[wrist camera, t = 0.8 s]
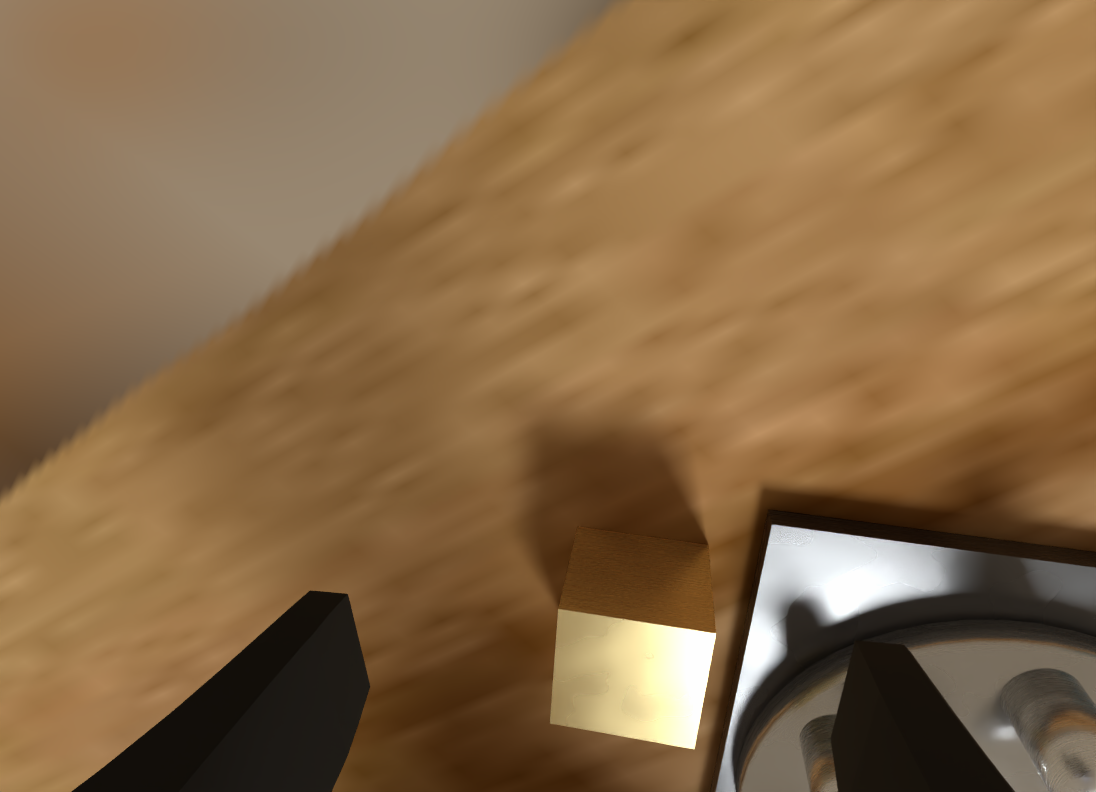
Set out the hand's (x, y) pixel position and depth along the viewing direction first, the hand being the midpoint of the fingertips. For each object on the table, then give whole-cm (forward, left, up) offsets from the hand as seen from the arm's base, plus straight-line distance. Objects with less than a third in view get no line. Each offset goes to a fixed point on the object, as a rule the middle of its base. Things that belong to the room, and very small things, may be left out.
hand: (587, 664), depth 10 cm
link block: (-6, -1, -10) cm, 12 cm away
